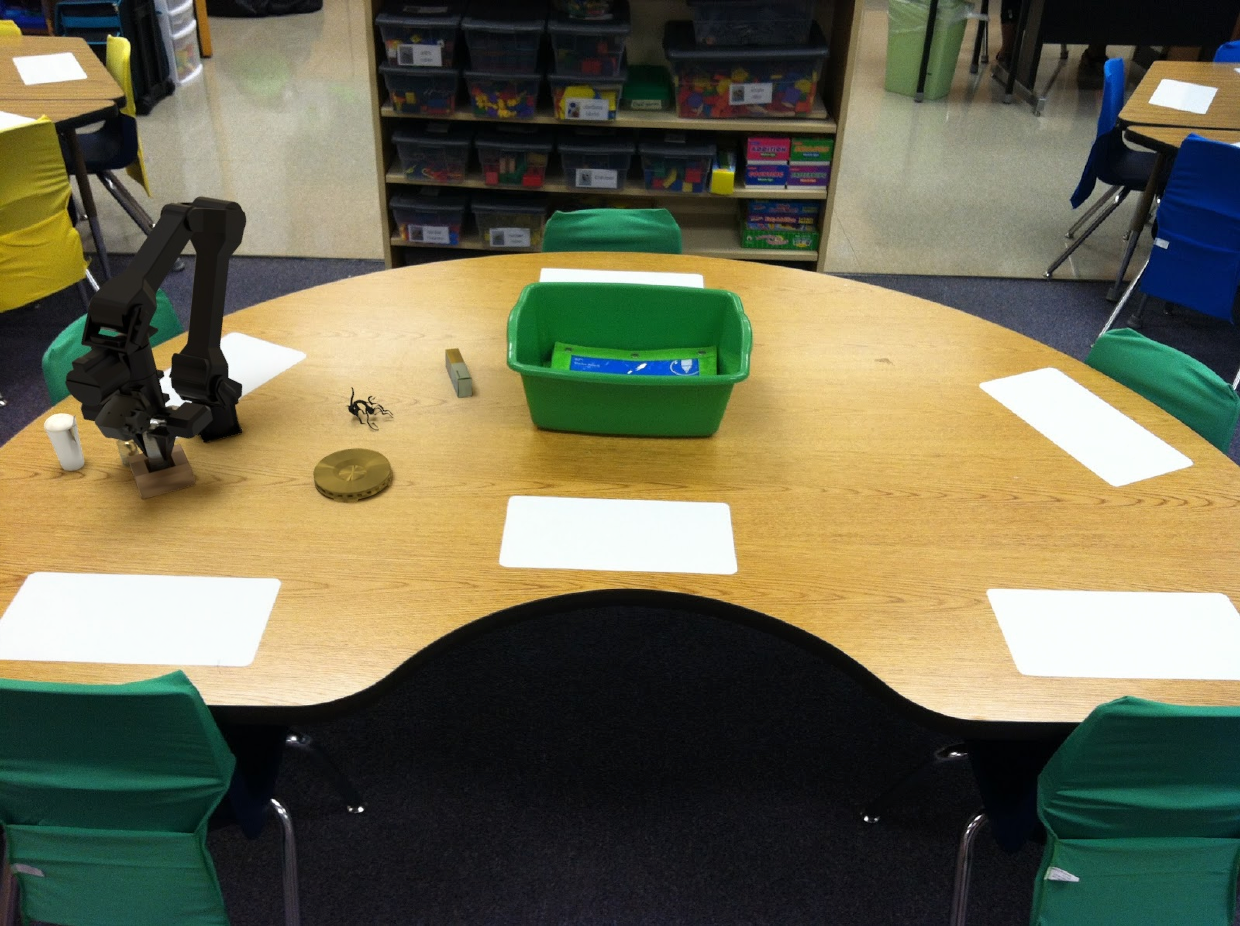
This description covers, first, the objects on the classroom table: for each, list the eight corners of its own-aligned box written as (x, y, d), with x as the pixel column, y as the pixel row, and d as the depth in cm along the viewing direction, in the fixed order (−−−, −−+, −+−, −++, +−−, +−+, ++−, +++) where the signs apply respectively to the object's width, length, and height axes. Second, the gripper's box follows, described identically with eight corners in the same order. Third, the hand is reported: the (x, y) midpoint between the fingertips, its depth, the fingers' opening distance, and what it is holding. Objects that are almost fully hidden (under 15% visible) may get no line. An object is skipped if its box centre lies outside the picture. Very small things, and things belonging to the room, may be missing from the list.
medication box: (472, 397, 189) (472, 378, 186) (457, 399, 188) (457, 380, 185) (458, 365, 198) (458, 346, 195) (444, 366, 197) (444, 348, 195)
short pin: (139, 455, 169) (133, 434, 167) (142, 464, 168) (137, 443, 165) (120, 459, 168) (114, 439, 166) (124, 468, 166) (118, 448, 164)
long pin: (170, 468, 166) (158, 421, 161) (174, 477, 164) (162, 430, 159) (151, 473, 165) (138, 426, 159) (155, 482, 163) (142, 435, 157)
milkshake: (82, 476, 164) (65, 423, 158) (51, 471, 165) (33, 418, 159) (99, 460, 168) (83, 408, 162) (69, 455, 169) (52, 403, 163)
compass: (300, 480, 166) (298, 469, 165) (362, 450, 174) (361, 439, 172) (344, 513, 160) (342, 502, 159) (407, 481, 167) (405, 470, 166)
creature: (394, 412, 185) (349, 403, 184) (398, 387, 182) (352, 378, 181) (388, 437, 179) (341, 428, 177) (393, 411, 176) (345, 402, 174)
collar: (184, 458, 169) (180, 443, 167) (196, 484, 164) (192, 469, 162) (132, 472, 166) (127, 456, 164) (142, 499, 160) (137, 483, 158)
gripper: (43, 388, 148) (72, 476, 157) (160, 409, 145) (182, 498, 154) (93, 351, 157) (117, 437, 166) (204, 371, 154) (223, 457, 163)
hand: (158, 457), depth 162 cm, fingers closed on long pin, 3 cm apart
